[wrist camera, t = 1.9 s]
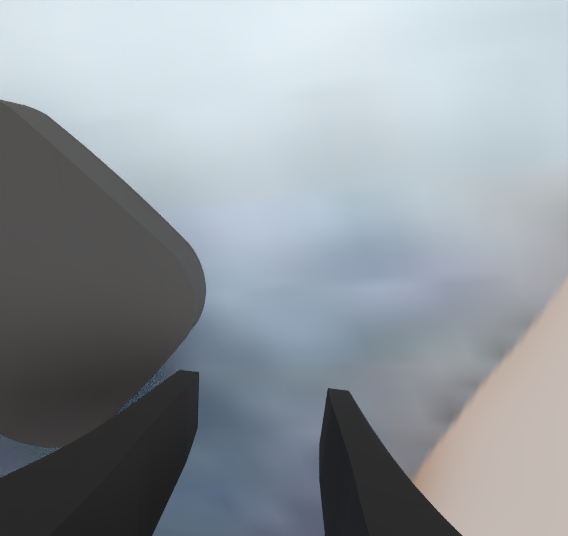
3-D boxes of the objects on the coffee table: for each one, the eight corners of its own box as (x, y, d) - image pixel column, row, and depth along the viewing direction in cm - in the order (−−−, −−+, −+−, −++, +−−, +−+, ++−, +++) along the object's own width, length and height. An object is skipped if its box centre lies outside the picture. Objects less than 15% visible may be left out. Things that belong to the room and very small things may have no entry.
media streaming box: (0, 64, 15) (-70, 40, 13) (239, 282, 18) (225, 303, 15) (-129, 281, 19) (-207, 301, 16) (83, 441, 21) (47, 484, 18)
